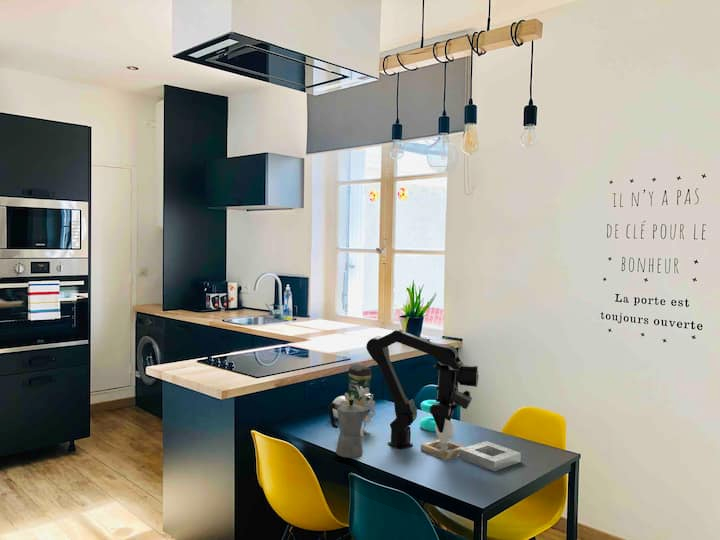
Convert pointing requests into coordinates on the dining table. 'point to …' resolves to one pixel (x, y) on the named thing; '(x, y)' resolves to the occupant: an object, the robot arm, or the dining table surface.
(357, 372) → the coffee jar
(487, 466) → the socket
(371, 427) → the dining table surface
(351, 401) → the coffeepot
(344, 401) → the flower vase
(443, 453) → the wooden picture frame
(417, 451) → the dining table surface
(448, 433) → the lightbulb
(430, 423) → the donuts
